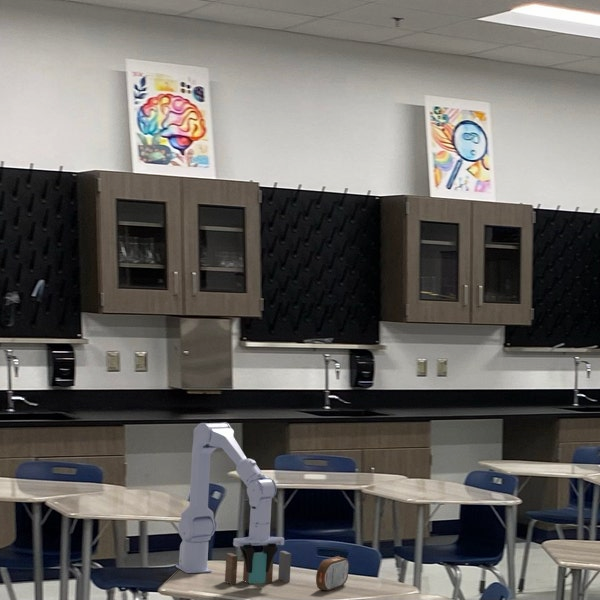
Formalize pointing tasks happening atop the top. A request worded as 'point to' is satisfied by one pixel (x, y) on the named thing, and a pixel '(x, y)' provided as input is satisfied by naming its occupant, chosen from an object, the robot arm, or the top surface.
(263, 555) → the teal rectangular block
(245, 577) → the domino
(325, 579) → the tin
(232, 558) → the domino
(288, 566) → the domino
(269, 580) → the domino
